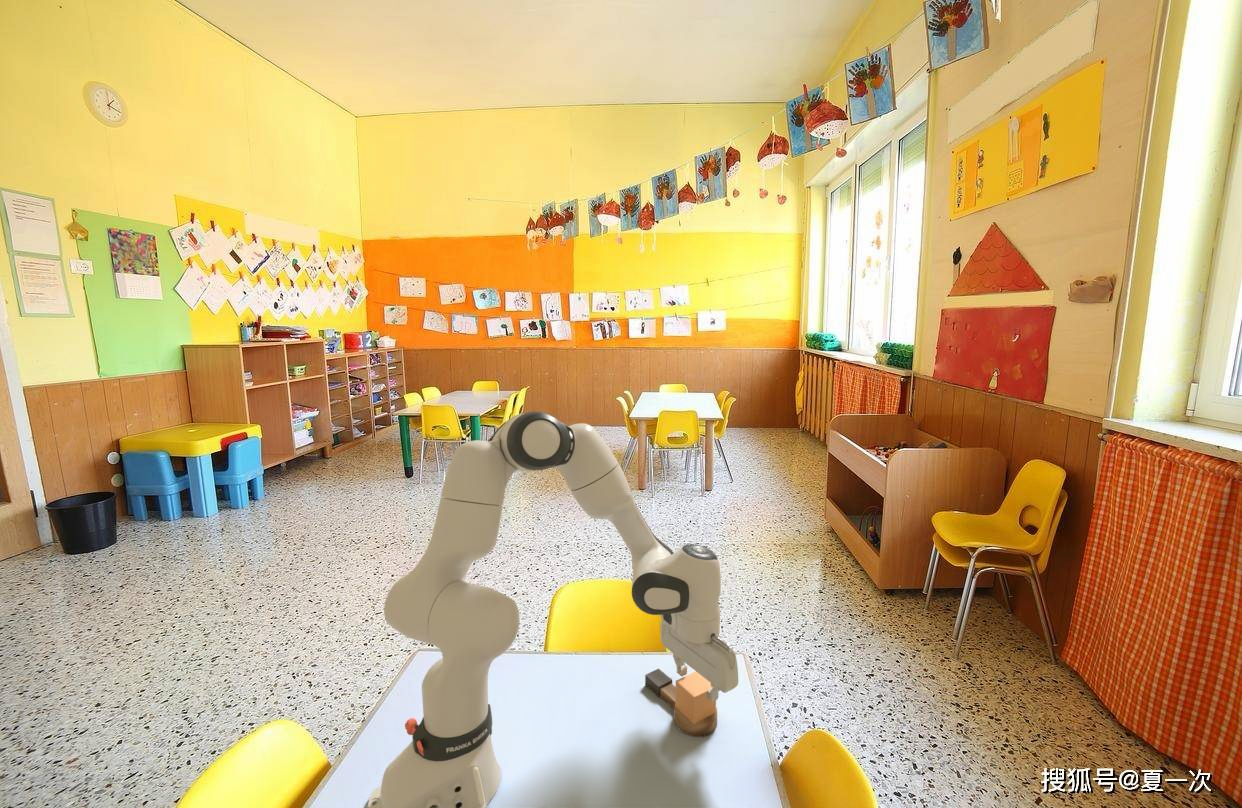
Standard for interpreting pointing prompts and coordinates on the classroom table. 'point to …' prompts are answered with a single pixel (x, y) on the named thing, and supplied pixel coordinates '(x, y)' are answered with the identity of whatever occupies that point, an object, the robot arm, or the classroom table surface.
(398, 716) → the classroom table surface
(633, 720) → the classroom table surface
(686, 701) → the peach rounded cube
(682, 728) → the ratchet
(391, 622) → the robot arm
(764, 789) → the classroom table surface
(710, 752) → the classroom table surface
